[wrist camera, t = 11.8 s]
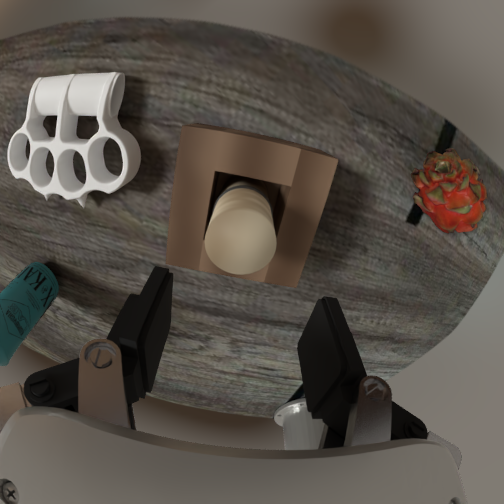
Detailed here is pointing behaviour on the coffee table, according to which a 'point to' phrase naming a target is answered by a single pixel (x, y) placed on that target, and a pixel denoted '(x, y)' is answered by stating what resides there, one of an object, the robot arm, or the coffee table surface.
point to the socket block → (254, 166)
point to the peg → (241, 227)
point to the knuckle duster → (73, 135)
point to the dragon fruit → (450, 191)
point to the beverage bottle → (24, 306)
